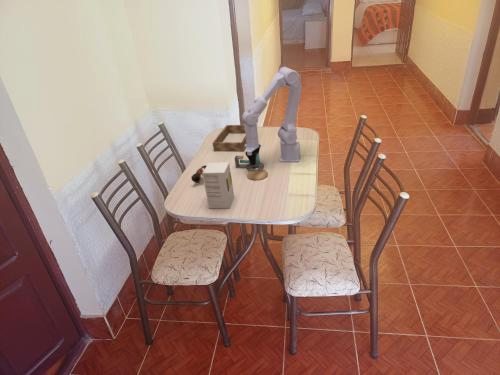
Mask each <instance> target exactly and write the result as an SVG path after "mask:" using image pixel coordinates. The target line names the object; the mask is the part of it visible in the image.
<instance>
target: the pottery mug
mask: <svg viewBox="0 0 500 375" xmlns="http://www.w3.org/2000/svg"><path fill="white" fill-rule="evenodd" d="M206 166H207V164H206V165H202V166H200V168H198V169H197V170H196V172H195V173H194V174H192V175H191V177H190V178H191V181H192V182H194V183H196V184H200V179H201V177H203V175H202V173H203V171H204V170H205V168H206Z"/></svg>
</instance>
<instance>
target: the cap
mask: <svg viewBox="0 0 500 375" xmlns="http://www.w3.org/2000/svg"><path fill="white" fill-rule="evenodd" d="M260 162H261V160H260V153H259V154H258V153H257V155H256V164H255V165H257V164H259V163H260ZM239 164H250V161H249V159H239Z"/></svg>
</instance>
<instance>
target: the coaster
mask: <svg viewBox="0 0 500 375" xmlns="http://www.w3.org/2000/svg"><path fill="white" fill-rule="evenodd" d="M268 172H269V171H268V170H266V169H264V168H263V169H258V170H251V171H248V172H247V173H246V178H247V179H249V180H250V181H254V182H256V181H257V180H258V181H262V180H265V179H266V178H268V176H269V173H268Z"/></svg>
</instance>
